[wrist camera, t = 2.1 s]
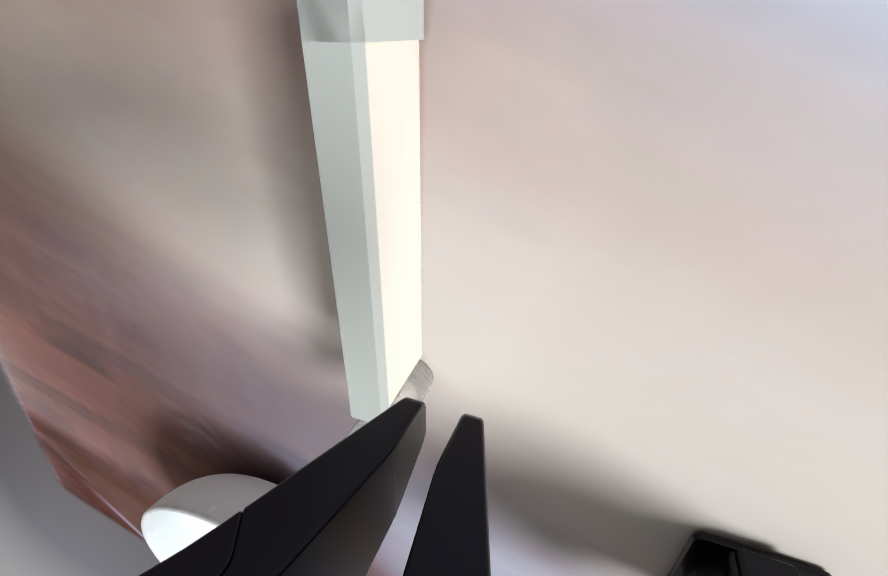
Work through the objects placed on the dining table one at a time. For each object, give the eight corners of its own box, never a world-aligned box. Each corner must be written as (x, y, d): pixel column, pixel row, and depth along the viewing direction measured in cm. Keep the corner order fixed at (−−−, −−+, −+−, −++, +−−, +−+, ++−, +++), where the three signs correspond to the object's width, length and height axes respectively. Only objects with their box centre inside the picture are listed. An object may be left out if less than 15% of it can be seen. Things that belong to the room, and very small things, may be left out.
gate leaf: (424, 356, 24) (381, 426, 20) (399, 349, 25) (351, 416, 20) (423, -13, 15) (345, -30, 11) (383, -13, 16) (292, -29, 11)
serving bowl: (301, 585, 49) (259, 656, 44) (172, 458, 44) (107, 519, 39) (436, 587, 38) (403, 682, 33) (284, 417, 33) (215, 495, 28)
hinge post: (433, 393, 26) (384, 485, 21) (396, 383, 26) (340, 470, 21) (433, 362, 25) (381, 452, 19) (395, 352, 25) (335, 437, 20)
